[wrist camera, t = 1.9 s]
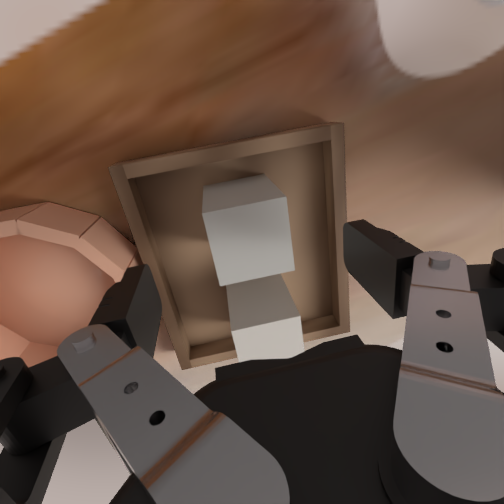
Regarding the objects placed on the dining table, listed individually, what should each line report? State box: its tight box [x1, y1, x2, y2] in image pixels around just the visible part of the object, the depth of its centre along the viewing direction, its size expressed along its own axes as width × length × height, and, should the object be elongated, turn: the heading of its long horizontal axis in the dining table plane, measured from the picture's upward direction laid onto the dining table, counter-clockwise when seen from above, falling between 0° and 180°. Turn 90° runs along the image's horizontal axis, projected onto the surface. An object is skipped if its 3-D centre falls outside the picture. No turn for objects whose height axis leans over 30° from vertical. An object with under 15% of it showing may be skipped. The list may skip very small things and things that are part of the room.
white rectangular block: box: [226, 273, 304, 362], centre depth 20 cm, size 4×4×6 cm
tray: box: [108, 122, 350, 370], centre depth 21 cm, size 14×16×2 cm
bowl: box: [0, 202, 143, 368], centre depth 20 cm, size 12×12×4 cm
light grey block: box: [202, 174, 295, 286], centre depth 17 cm, size 4×4×6 cm
